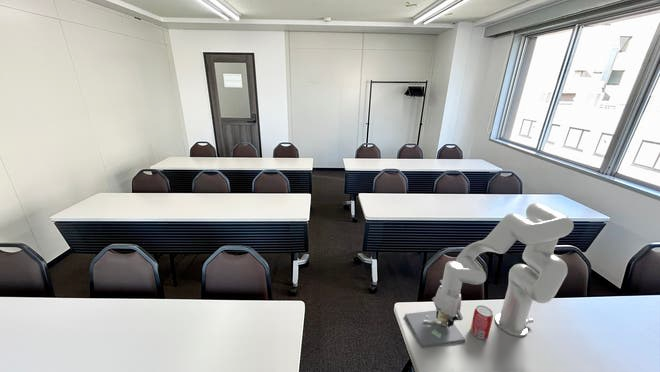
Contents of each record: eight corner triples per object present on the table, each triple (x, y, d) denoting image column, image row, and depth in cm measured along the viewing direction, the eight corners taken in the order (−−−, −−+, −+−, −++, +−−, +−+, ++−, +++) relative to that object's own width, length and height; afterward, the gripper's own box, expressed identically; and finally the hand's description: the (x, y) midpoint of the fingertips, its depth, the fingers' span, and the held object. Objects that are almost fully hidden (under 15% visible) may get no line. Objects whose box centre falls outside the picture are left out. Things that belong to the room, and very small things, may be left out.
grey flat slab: (443, 311, 130) (443, 309, 129) (464, 341, 114) (465, 338, 113) (404, 316, 127) (405, 313, 126) (421, 347, 111) (422, 344, 110)
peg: (449, 322, 122) (452, 310, 119) (451, 327, 119) (454, 315, 117) (423, 319, 123) (424, 307, 121) (424, 324, 120) (426, 312, 118)
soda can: (490, 341, 114) (497, 318, 110) (472, 338, 115) (478, 315, 111) (484, 328, 121) (490, 306, 117) (467, 325, 122) (473, 303, 118)
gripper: (428, 280, 119) (423, 312, 125) (464, 304, 105) (456, 338, 111) (439, 274, 123) (433, 306, 129) (474, 297, 109) (466, 330, 115)
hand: (444, 320), depth 120 cm, fingers closed on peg, 5 cm apart
